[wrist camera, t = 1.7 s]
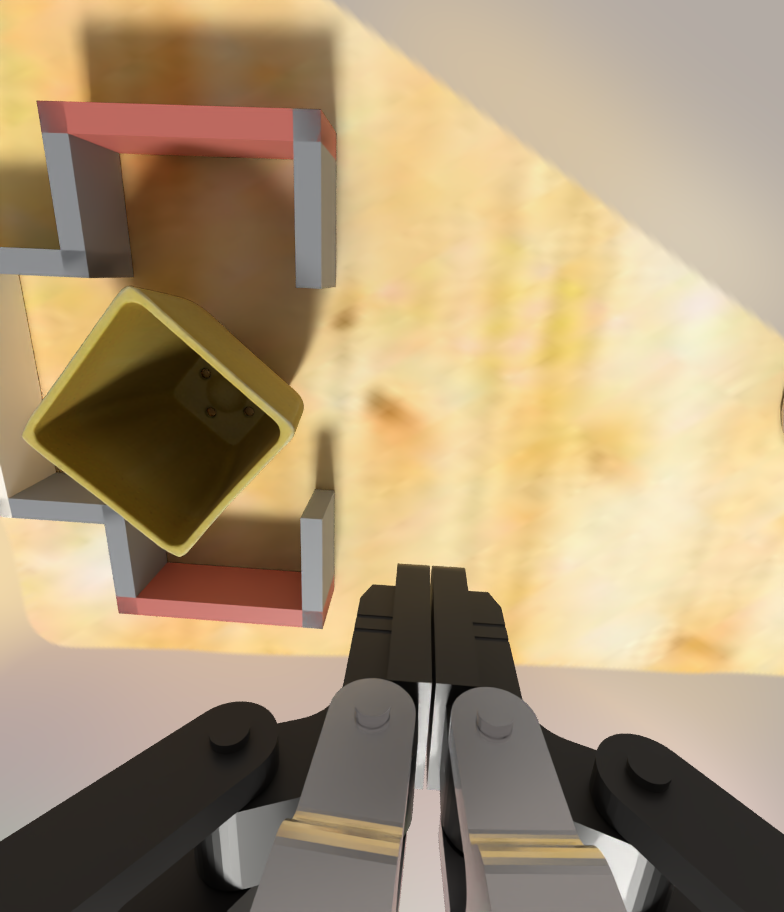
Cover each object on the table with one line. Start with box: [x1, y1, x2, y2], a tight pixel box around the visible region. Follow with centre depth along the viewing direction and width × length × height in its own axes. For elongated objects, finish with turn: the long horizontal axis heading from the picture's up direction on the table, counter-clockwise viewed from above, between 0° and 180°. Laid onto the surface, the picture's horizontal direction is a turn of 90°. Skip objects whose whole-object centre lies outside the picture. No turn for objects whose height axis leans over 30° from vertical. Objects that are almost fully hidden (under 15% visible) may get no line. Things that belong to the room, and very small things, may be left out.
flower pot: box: [22, 286, 304, 557], centre depth 26 cm, size 9×9×9 cm
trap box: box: [0, 101, 336, 629], centre depth 29 cm, size 26×19×4 cm
